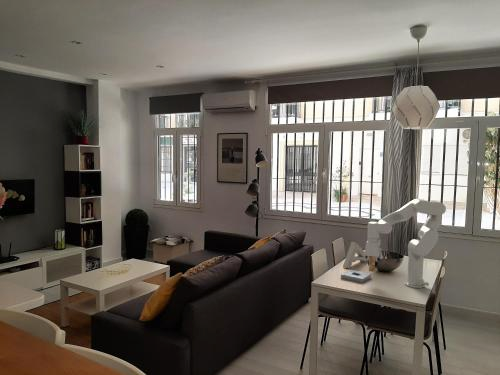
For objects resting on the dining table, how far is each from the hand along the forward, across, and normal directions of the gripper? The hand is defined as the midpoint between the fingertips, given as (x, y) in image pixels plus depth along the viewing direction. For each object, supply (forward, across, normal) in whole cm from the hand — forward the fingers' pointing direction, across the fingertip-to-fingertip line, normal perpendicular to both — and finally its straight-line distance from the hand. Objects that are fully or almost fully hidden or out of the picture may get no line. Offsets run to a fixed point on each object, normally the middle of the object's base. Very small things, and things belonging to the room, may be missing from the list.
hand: (372, 266), depth 268 cm
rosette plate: (+12, +14, -4) cm, 19 cm away
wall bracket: (+13, +29, -41) cm, 52 cm away
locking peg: (+3, 0, 0) cm, 3 cm away
